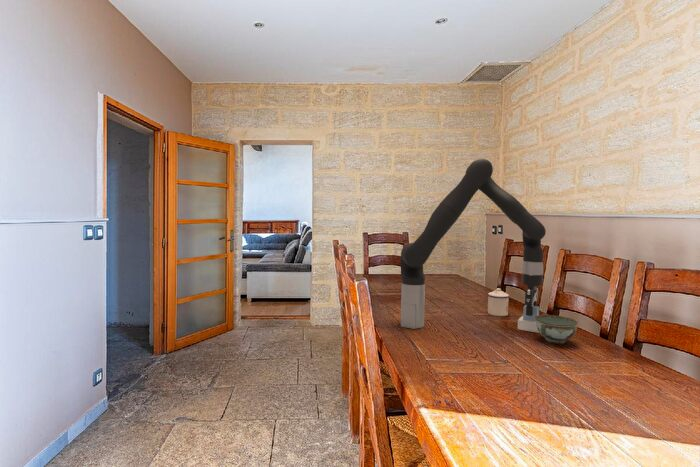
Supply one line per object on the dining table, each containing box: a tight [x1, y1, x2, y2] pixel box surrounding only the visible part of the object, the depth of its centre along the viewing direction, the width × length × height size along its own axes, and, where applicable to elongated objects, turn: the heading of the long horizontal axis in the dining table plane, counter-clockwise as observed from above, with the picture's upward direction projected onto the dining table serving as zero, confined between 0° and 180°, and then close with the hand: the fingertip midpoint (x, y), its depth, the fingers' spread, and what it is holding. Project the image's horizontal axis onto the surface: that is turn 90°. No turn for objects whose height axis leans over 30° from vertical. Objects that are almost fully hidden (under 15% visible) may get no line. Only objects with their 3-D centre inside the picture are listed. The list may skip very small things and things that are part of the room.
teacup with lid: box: [487, 287, 510, 317], centre depth 176 cm, size 12×9×12 cm
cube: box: [522, 304, 540, 322], centre depth 153 cm, size 5×5×5 cm
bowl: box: [535, 314, 578, 345], centre depth 137 cm, size 14×13×8 cm
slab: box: [517, 315, 540, 334], centre depth 153 cm, size 8×8×4 cm
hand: (531, 313), depth 153 cm, fingers open, 8 cm apart
